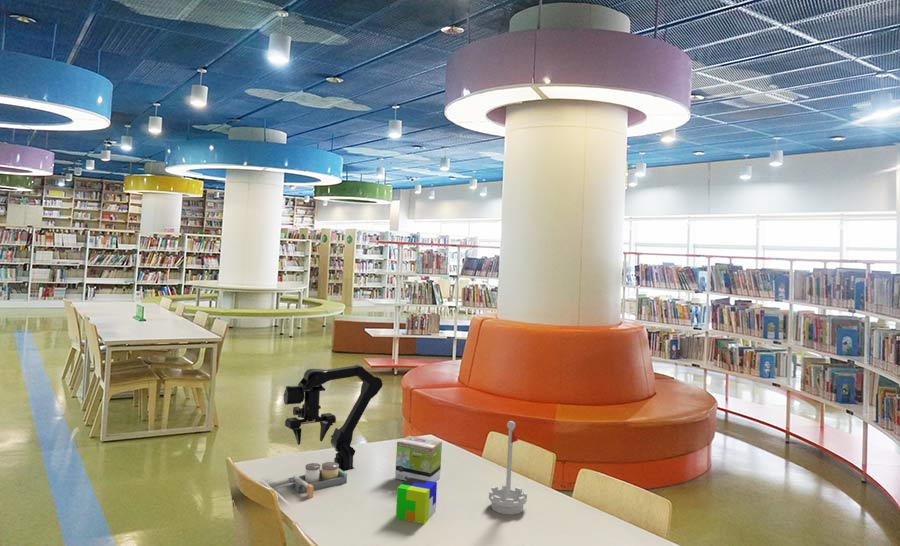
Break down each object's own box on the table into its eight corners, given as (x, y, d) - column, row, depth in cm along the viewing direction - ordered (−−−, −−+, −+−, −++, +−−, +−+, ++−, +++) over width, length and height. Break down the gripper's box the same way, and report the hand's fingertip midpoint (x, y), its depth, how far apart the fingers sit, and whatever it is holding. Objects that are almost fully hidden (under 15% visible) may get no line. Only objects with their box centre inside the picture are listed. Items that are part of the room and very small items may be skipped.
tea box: (394, 479, 222) (396, 441, 221) (406, 471, 231) (407, 434, 231) (430, 487, 216) (432, 447, 216) (440, 478, 225) (442, 440, 225)
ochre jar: (333, 476, 220) (334, 461, 220) (341, 481, 215) (341, 465, 215) (318, 479, 216) (319, 463, 216) (325, 485, 211) (326, 468, 211)
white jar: (302, 483, 212) (303, 464, 212) (315, 481, 215) (316, 462, 215) (308, 488, 208) (309, 469, 207) (321, 485, 211) (322, 466, 211)
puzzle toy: (435, 512, 194) (436, 482, 194) (424, 524, 185) (425, 492, 185) (408, 506, 198) (409, 477, 197) (395, 518, 188) (397, 487, 188)
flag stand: (481, 502, 204) (485, 417, 203) (514, 498, 209) (518, 415, 209) (499, 517, 192) (503, 427, 192) (533, 512, 197) (537, 424, 197)
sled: (296, 484, 211) (296, 473, 211) (313, 498, 200) (313, 486, 200) (270, 490, 205) (271, 478, 205) (286, 504, 194) (287, 491, 194)
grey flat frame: (334, 476, 222) (334, 465, 222) (346, 484, 215) (347, 473, 215) (288, 485, 211) (288, 474, 211) (299, 494, 203) (299, 483, 203)
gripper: (324, 395, 235) (322, 434, 235) (280, 400, 223) (278, 441, 224) (337, 401, 226) (335, 441, 227) (291, 407, 215) (290, 449, 215)
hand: (310, 442), depth 223 cm, fingers open, 9 cm apart
